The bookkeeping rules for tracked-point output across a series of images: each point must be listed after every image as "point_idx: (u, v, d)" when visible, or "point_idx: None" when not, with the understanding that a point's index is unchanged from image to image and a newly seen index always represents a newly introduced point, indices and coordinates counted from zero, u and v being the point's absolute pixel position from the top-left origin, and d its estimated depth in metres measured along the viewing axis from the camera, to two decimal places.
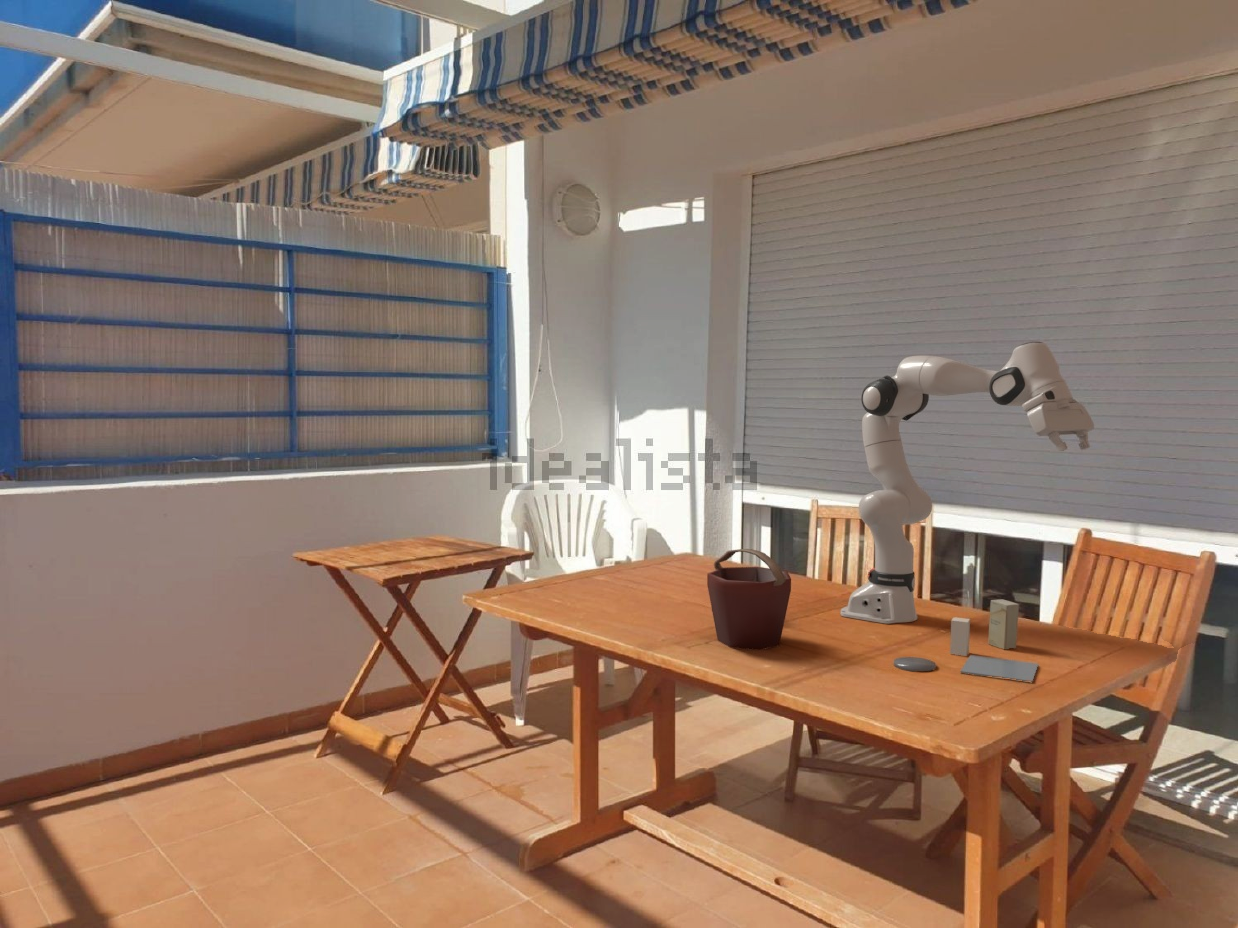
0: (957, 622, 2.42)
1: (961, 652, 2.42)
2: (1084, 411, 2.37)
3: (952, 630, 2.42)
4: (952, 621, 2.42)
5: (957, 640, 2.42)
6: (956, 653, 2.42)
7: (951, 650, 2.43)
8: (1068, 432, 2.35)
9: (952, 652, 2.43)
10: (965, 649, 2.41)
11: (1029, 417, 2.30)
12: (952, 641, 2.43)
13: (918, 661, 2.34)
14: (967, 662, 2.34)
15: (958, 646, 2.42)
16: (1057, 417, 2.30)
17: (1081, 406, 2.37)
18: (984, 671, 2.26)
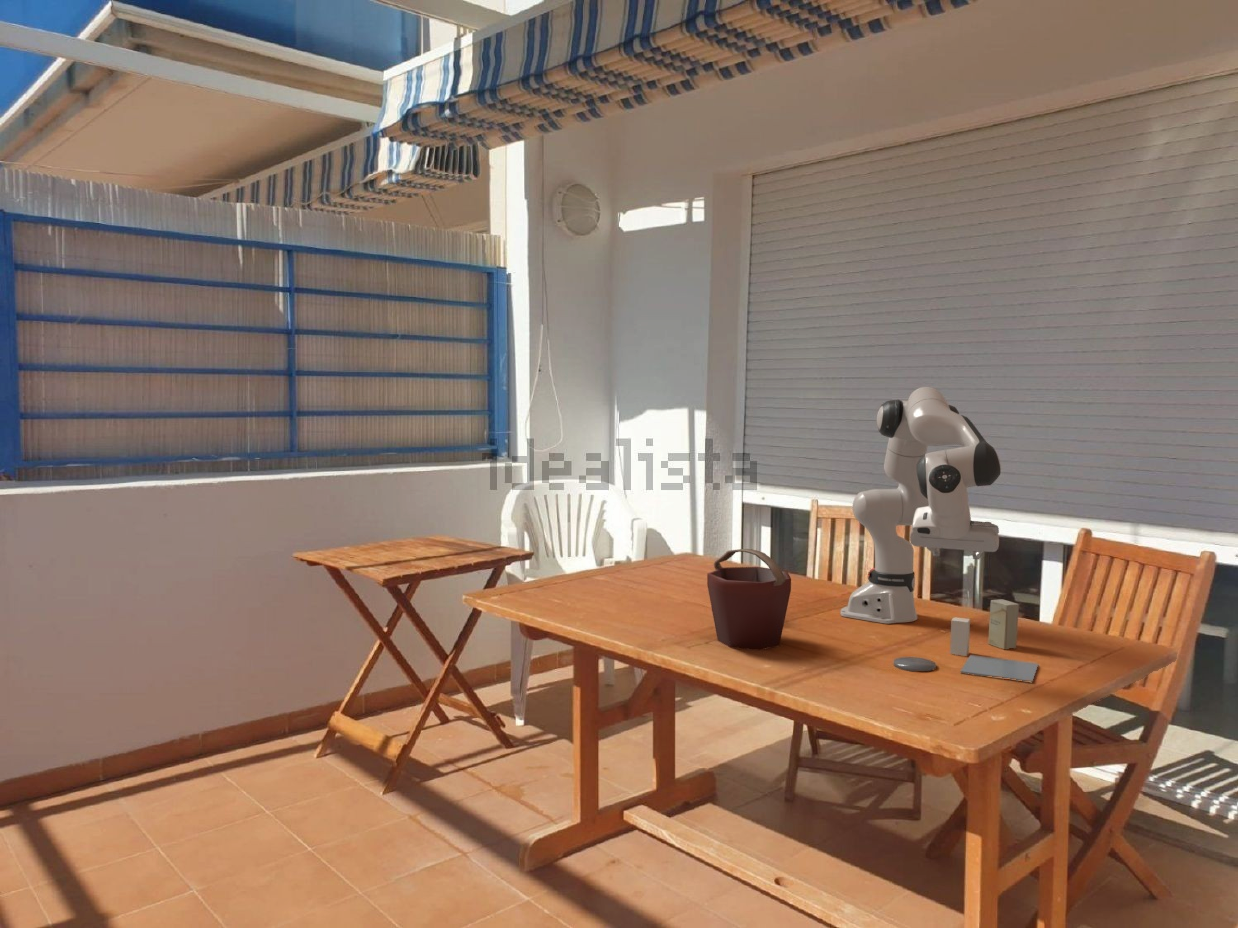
0: (957, 622, 2.42)
1: (961, 652, 2.42)
2: (987, 540, 2.20)
3: (952, 630, 2.42)
4: (952, 621, 2.42)
5: (957, 640, 2.42)
6: (956, 653, 2.42)
7: (951, 650, 2.43)
8: None
9: (952, 652, 2.43)
10: (965, 649, 2.41)
11: None
12: (952, 641, 2.43)
13: (918, 661, 2.34)
14: (967, 662, 2.34)
15: (958, 646, 2.42)
16: (934, 540, 2.26)
17: (985, 536, 2.19)
18: (984, 671, 2.26)
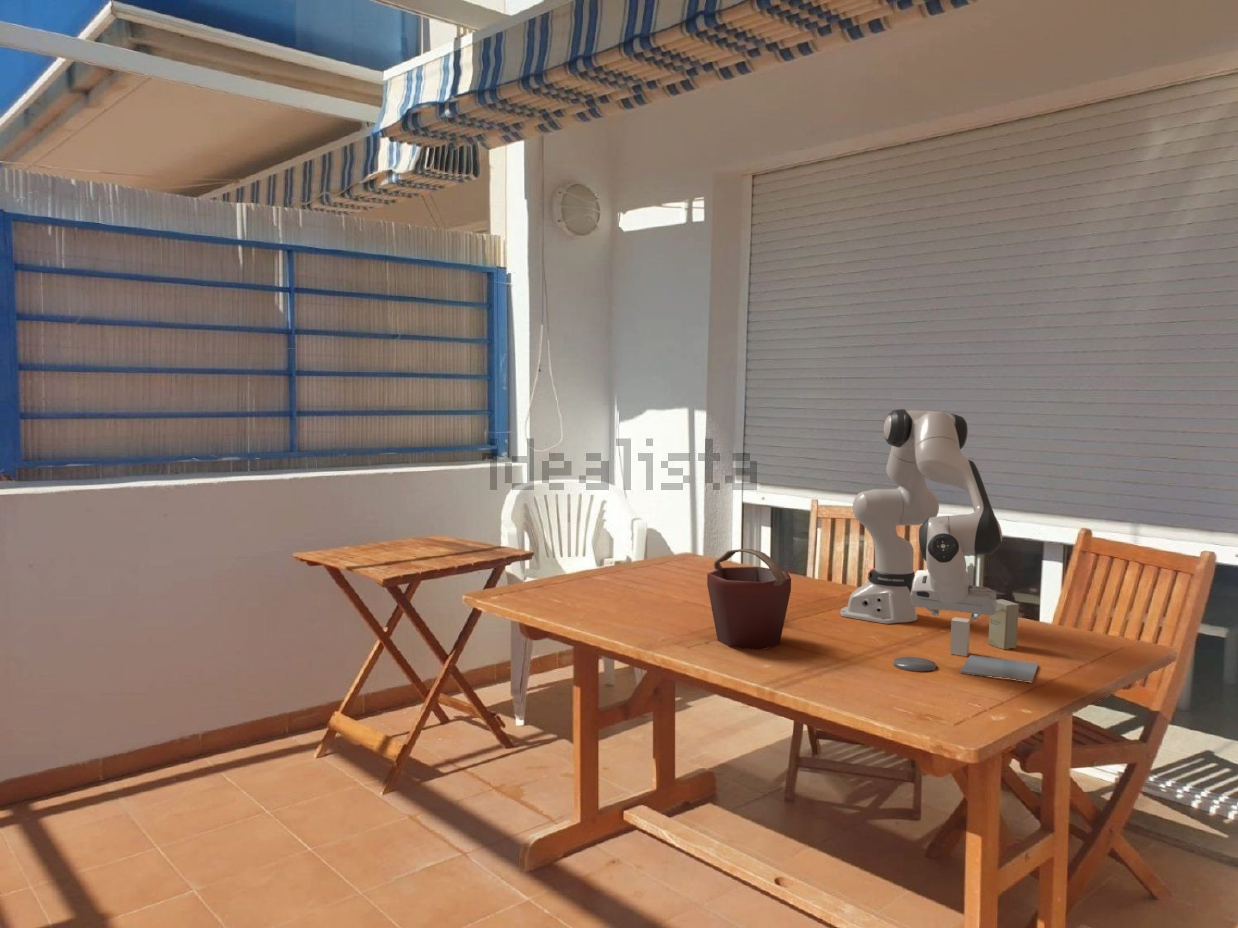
0: (957, 622, 2.42)
1: (961, 652, 2.42)
2: (985, 604, 2.25)
3: (952, 630, 2.42)
4: (952, 621, 2.42)
5: (957, 640, 2.42)
6: (956, 653, 2.42)
7: (951, 650, 2.43)
8: None
9: (952, 652, 2.43)
10: (965, 649, 2.41)
11: None
12: (952, 641, 2.43)
13: (918, 661, 2.34)
14: (967, 662, 2.34)
15: (958, 646, 2.42)
16: (933, 602, 2.32)
17: (983, 601, 2.24)
18: (984, 671, 2.26)
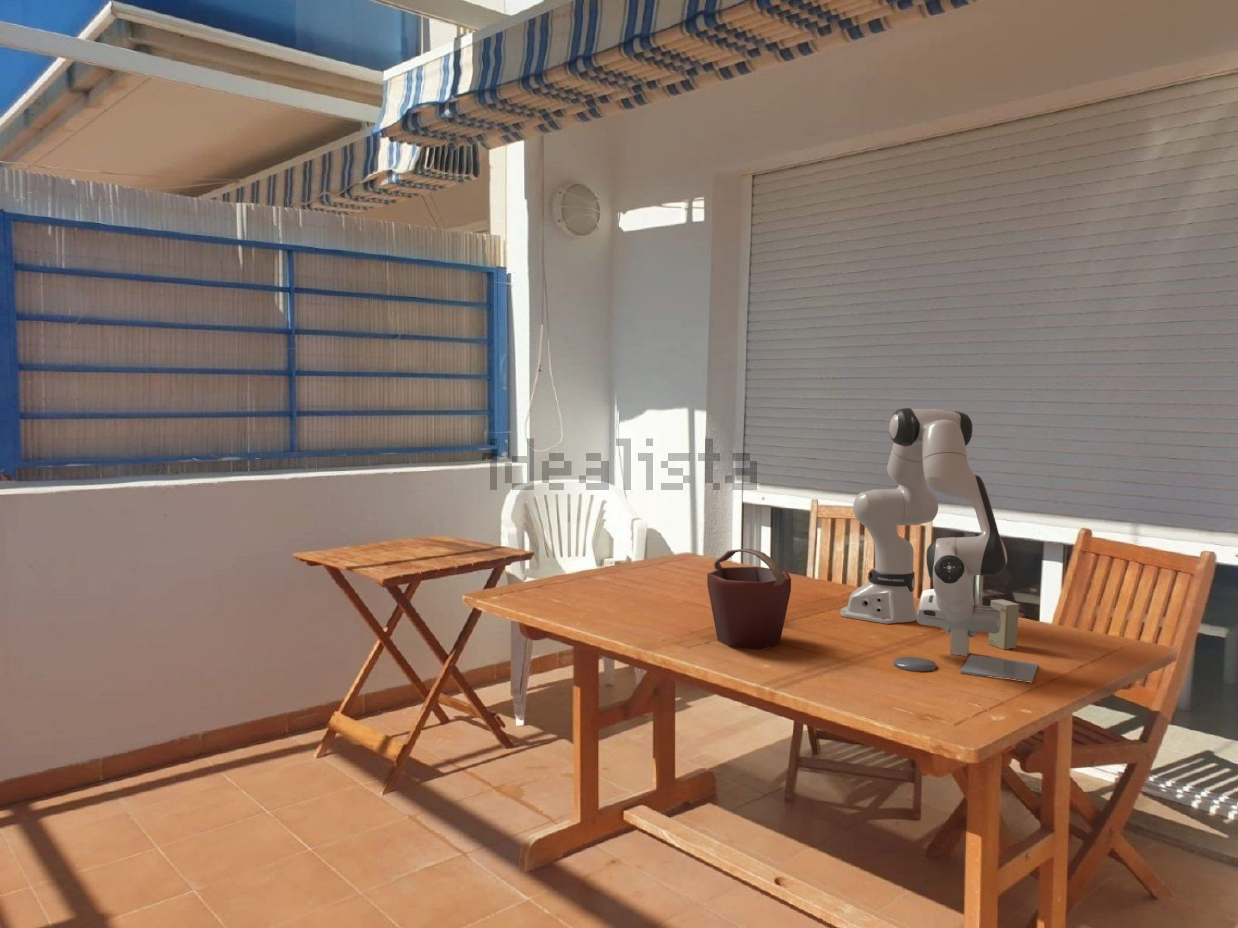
0: None
1: (961, 652, 2.42)
2: (990, 623, 2.33)
3: (952, 630, 2.42)
4: None
5: (957, 640, 2.42)
6: (956, 653, 2.42)
7: (951, 650, 2.43)
8: None
9: (952, 652, 2.43)
10: (965, 649, 2.41)
11: None
12: (952, 641, 2.43)
13: (918, 661, 2.34)
14: (967, 662, 2.34)
15: (958, 646, 2.42)
16: (939, 620, 2.40)
17: (987, 620, 2.32)
18: (984, 671, 2.26)
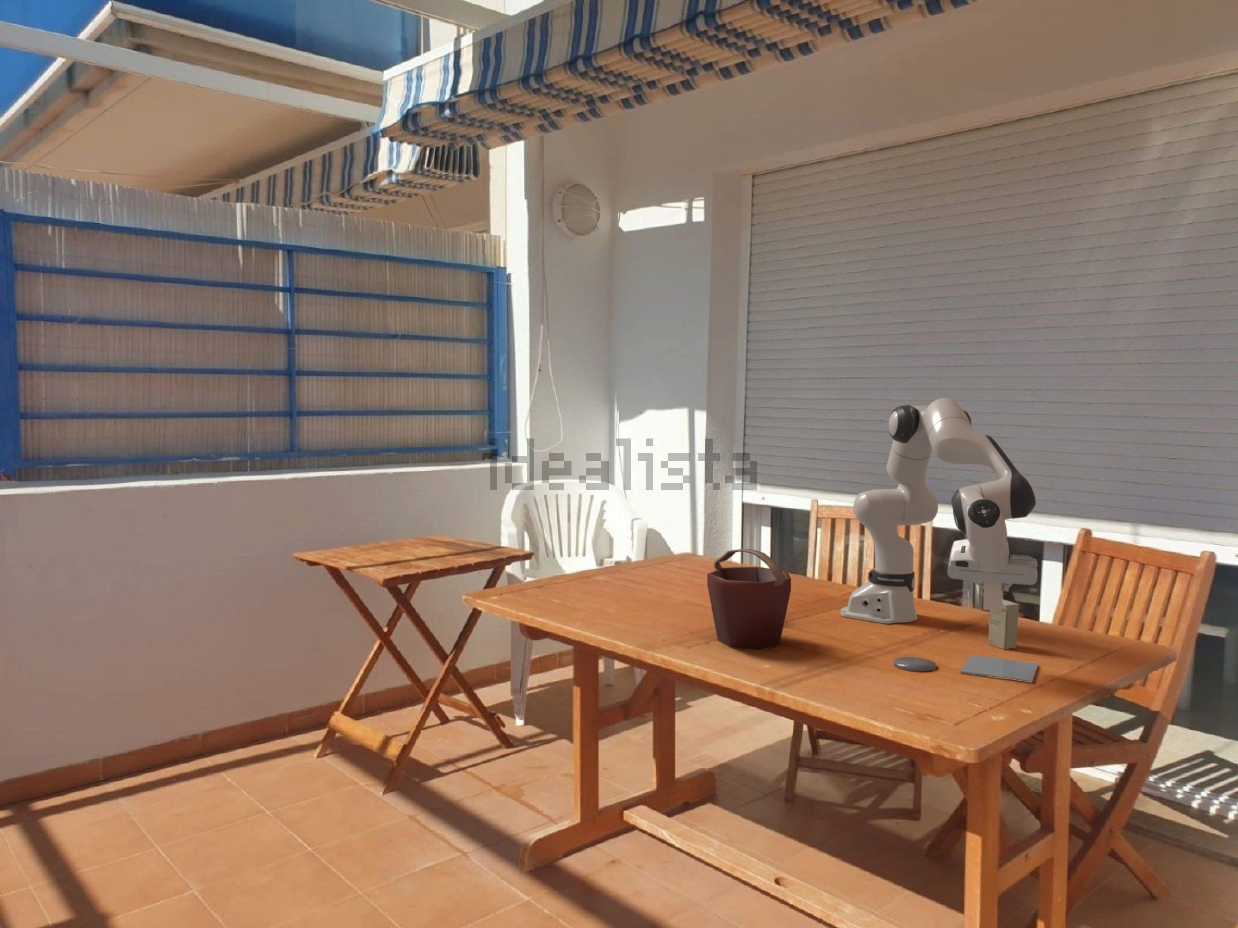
0: None
1: (995, 607, 2.29)
2: (1026, 573, 2.21)
3: (985, 584, 2.30)
4: None
5: (991, 594, 2.30)
6: (990, 608, 2.30)
7: (984, 605, 2.30)
8: None
9: (985, 607, 2.30)
10: (999, 603, 2.29)
11: (950, 555, 2.31)
12: (985, 595, 2.30)
13: (918, 661, 2.34)
14: (967, 662, 2.34)
15: (991, 600, 2.30)
16: (972, 573, 2.27)
17: (1024, 570, 2.20)
18: (984, 671, 2.26)
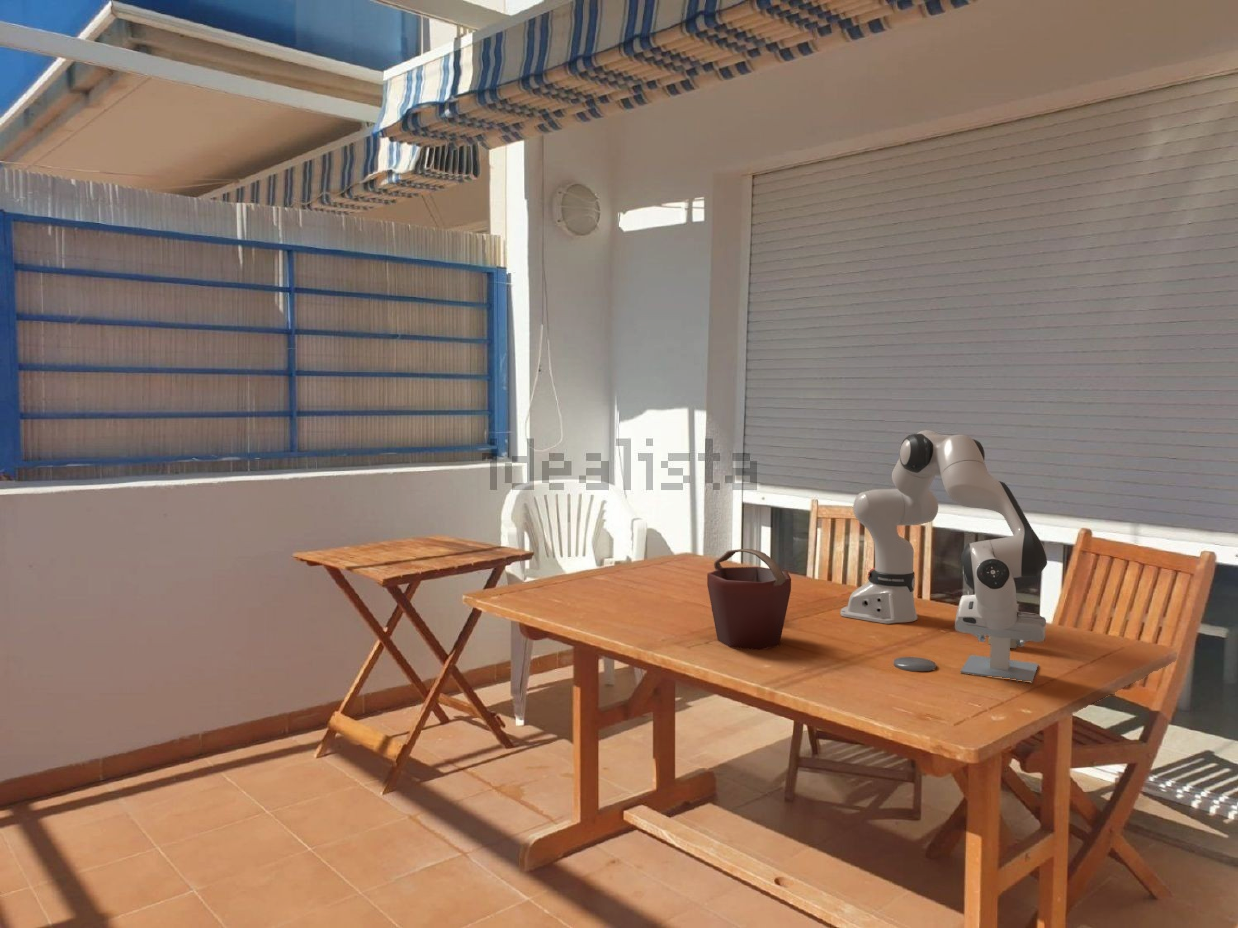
0: None
1: (1001, 665, 2.28)
2: (1034, 631, 2.19)
3: (992, 642, 2.28)
4: None
5: (998, 652, 2.28)
6: (996, 667, 2.28)
7: (991, 663, 2.29)
8: None
9: (992, 666, 2.29)
10: (1006, 662, 2.27)
11: None
12: (992, 654, 2.29)
13: (918, 661, 2.34)
14: (967, 662, 2.34)
15: (998, 659, 2.28)
16: (979, 628, 2.25)
17: (1032, 628, 2.18)
18: (984, 671, 2.26)
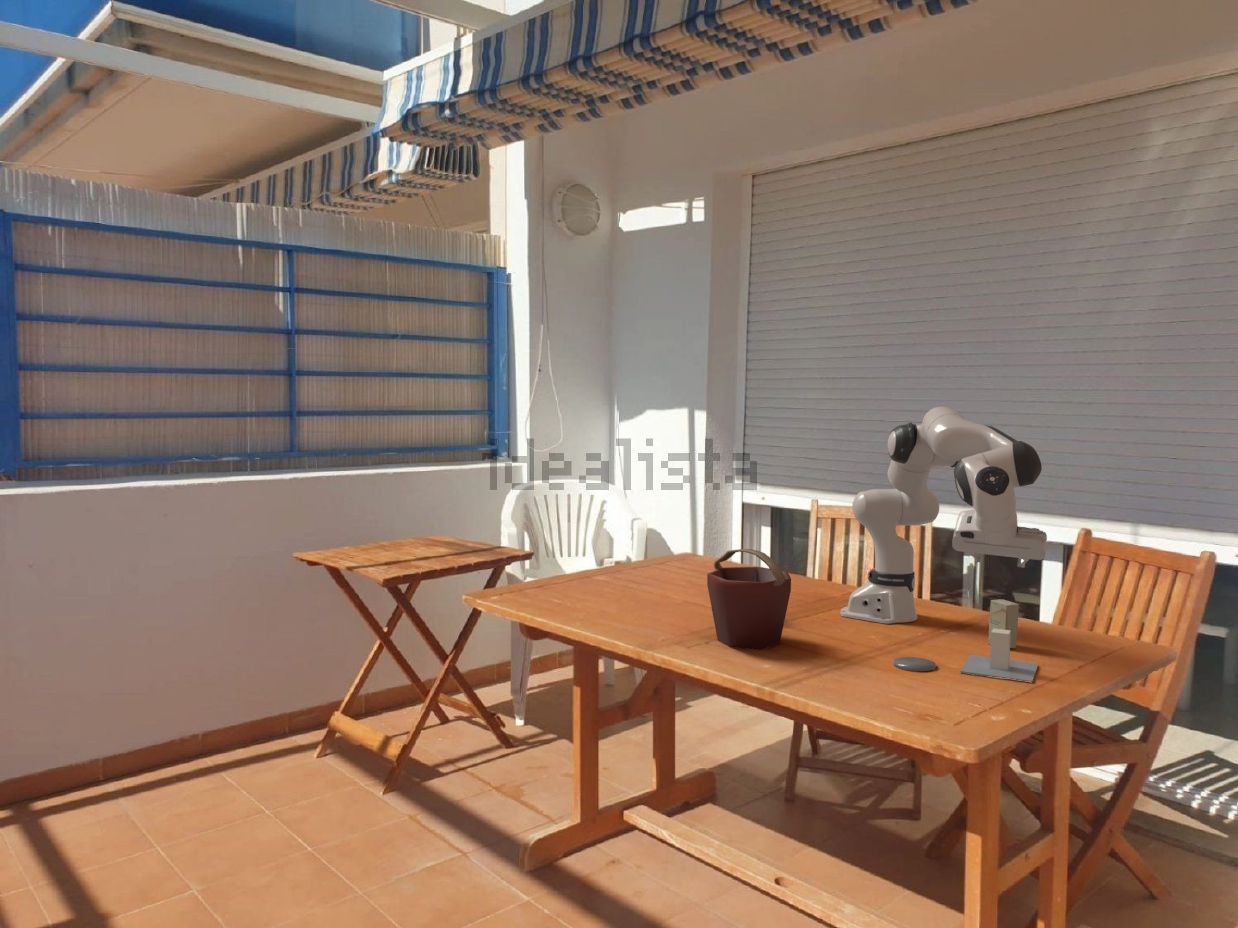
0: (997, 634, 2.28)
1: (1001, 665, 2.28)
2: (1034, 547, 2.11)
3: (992, 642, 2.28)
4: (992, 633, 2.28)
5: (998, 652, 2.28)
6: (996, 667, 2.28)
7: (991, 663, 2.29)
8: None
9: (992, 666, 2.29)
10: (1006, 662, 2.27)
11: None
12: (992, 654, 2.29)
13: (918, 661, 2.34)
14: (967, 662, 2.34)
15: (998, 659, 2.28)
16: (977, 545, 2.18)
17: (1032, 543, 2.10)
18: (984, 671, 2.26)
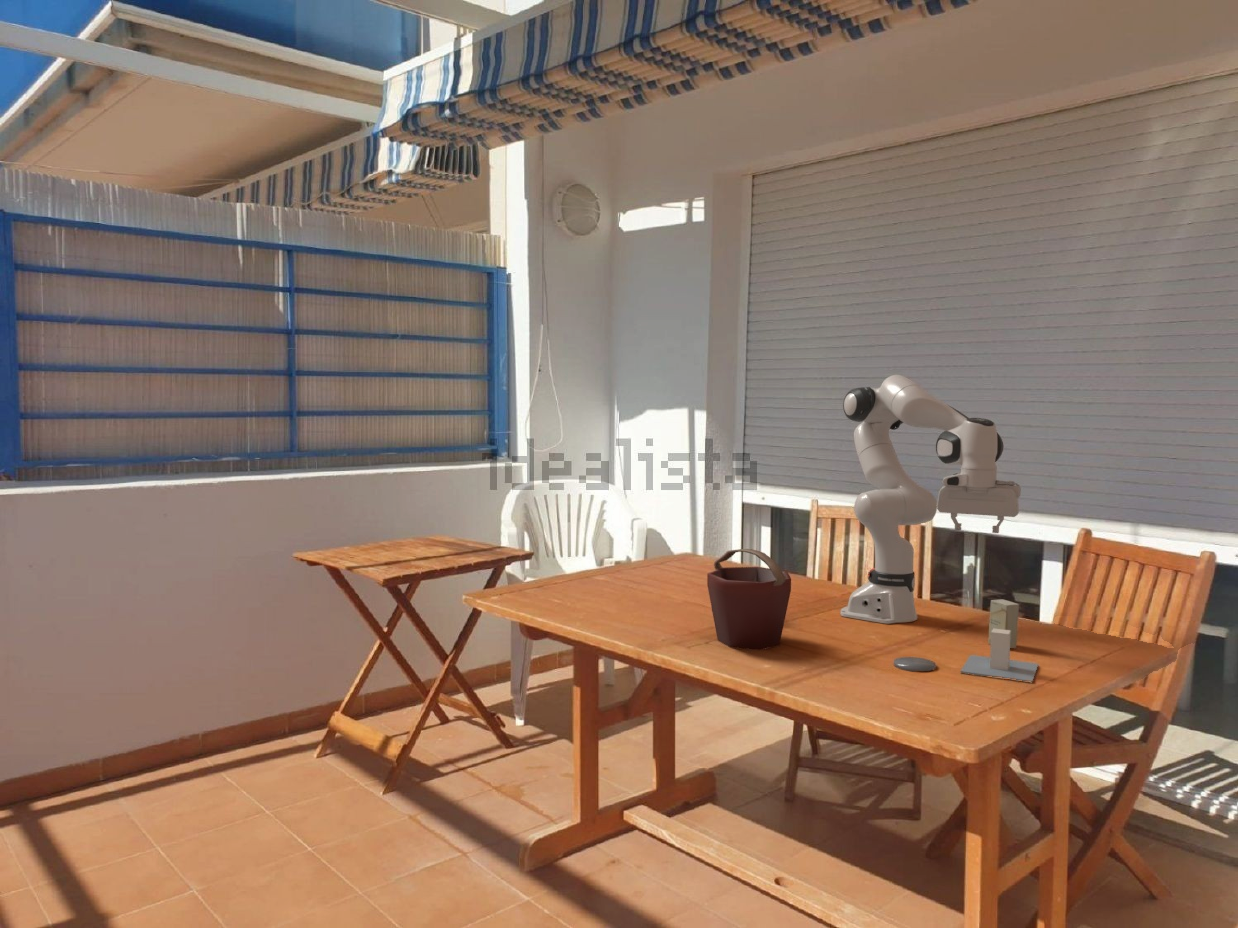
0: (997, 634, 2.28)
1: (1001, 665, 2.28)
2: (1009, 499, 2.42)
3: (992, 642, 2.28)
4: (992, 633, 2.28)
5: (998, 652, 2.28)
6: (996, 667, 2.28)
7: (991, 663, 2.29)
8: None
9: (992, 666, 2.29)
10: (1006, 662, 2.27)
11: None
12: (992, 654, 2.29)
13: (918, 661, 2.34)
14: (967, 662, 2.34)
15: (998, 659, 2.28)
16: (959, 501, 2.48)
17: (1008, 493, 2.42)
18: (984, 671, 2.26)
